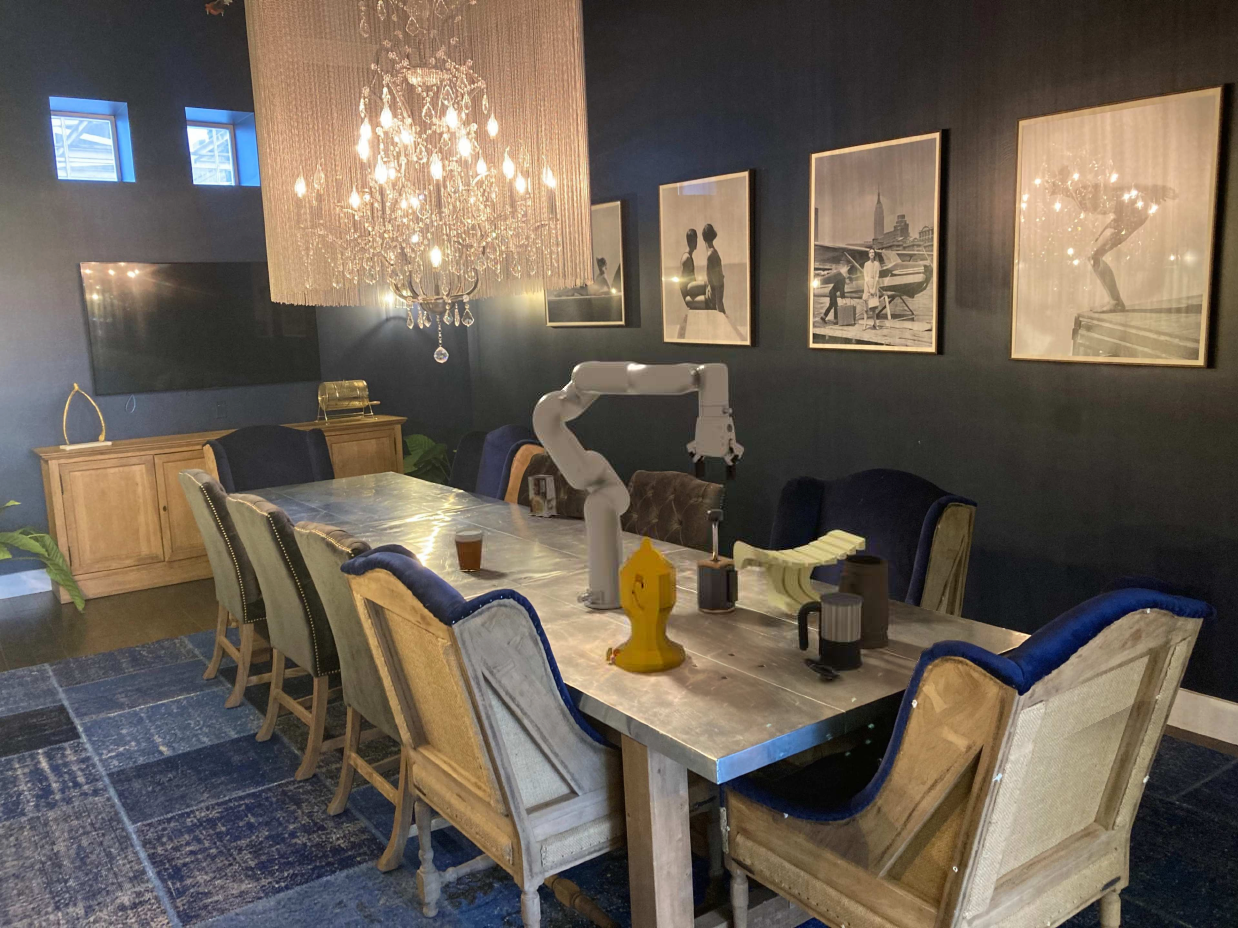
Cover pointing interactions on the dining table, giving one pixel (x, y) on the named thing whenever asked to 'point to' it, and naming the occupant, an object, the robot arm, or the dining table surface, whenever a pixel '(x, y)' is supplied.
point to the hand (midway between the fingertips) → (715, 478)
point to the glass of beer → (469, 548)
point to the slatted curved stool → (796, 566)
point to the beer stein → (869, 596)
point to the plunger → (715, 529)
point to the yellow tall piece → (647, 612)
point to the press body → (716, 586)
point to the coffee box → (542, 495)
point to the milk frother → (833, 633)
